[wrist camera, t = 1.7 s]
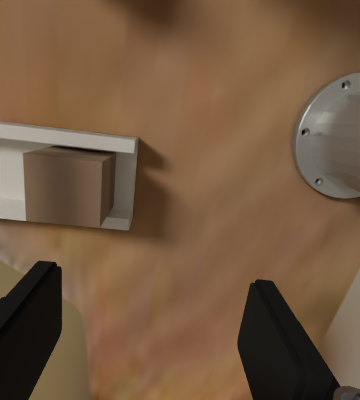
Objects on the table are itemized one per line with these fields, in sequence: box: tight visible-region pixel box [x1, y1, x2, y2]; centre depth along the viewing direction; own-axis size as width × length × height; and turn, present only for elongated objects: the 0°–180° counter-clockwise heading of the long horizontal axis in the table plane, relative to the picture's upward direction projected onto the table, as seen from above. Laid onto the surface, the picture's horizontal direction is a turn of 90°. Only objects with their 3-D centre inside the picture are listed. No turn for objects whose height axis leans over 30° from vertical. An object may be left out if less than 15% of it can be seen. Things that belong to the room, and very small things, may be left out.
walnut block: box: [23, 146, 116, 228], centre depth 24 cm, size 6×6×6 cm
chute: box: [0, 121, 139, 231], centre depth 26 cm, size 20×9×3 cm, turn 83°
